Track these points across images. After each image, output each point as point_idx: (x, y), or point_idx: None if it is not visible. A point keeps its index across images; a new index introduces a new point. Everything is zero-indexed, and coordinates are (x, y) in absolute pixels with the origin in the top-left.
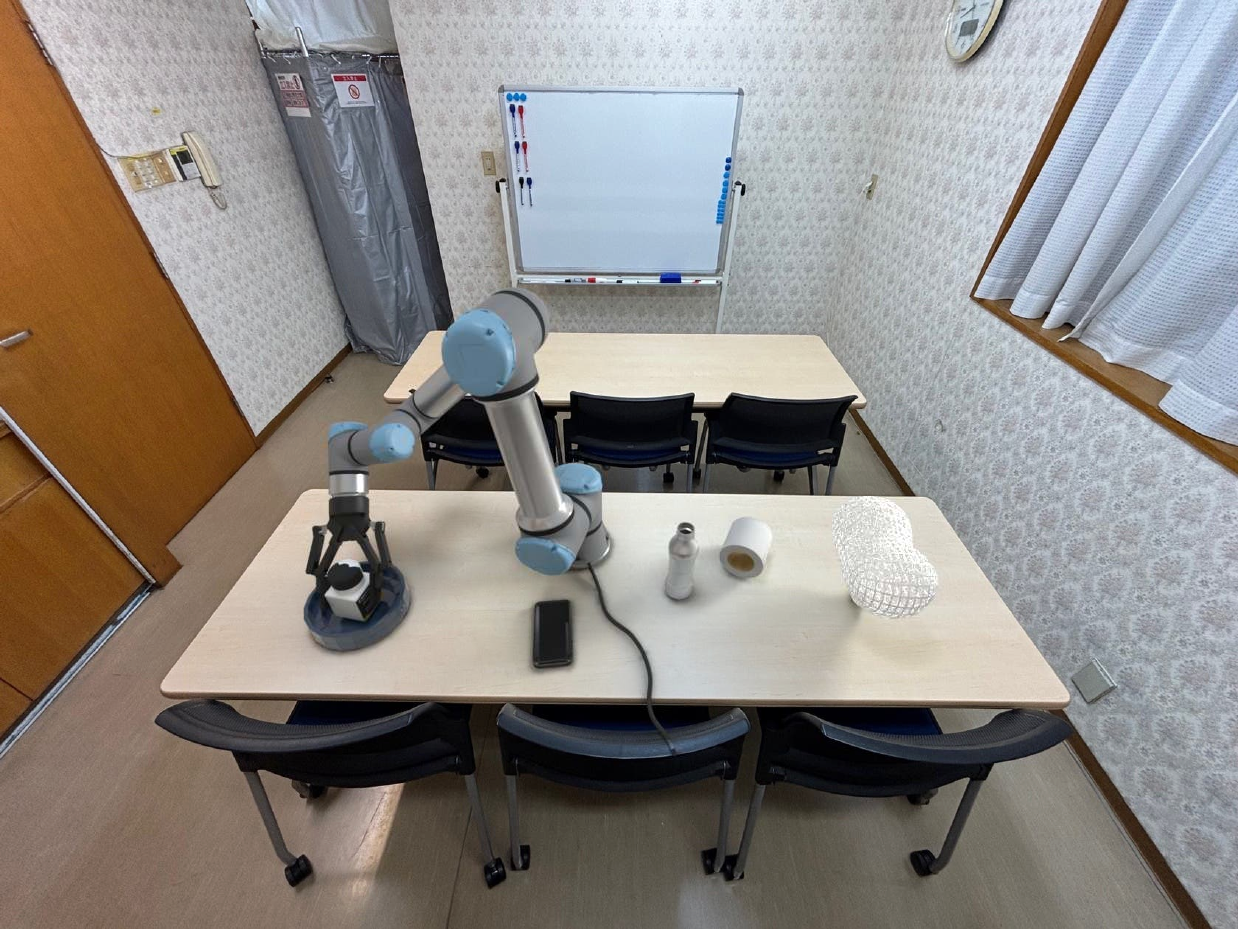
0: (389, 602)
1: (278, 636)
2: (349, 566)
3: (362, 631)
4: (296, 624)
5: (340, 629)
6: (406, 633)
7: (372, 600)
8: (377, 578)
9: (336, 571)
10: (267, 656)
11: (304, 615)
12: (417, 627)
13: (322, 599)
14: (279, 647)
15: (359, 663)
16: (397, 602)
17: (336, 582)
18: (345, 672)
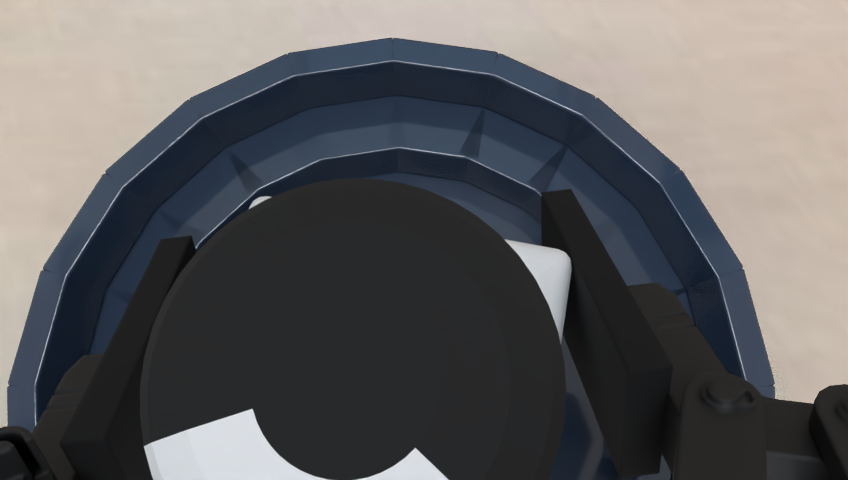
0: None
1: (821, 198)
2: (253, 419)
3: (221, 85)
4: (767, 280)
5: None
6: None
7: (156, 261)
8: (66, 424)
9: (406, 313)
10: (797, 79)
11: (695, 201)
12: (22, 273)
13: (577, 232)
14: (767, 131)
15: (284, 52)
16: (36, 329)
17: (363, 181)
18: (337, 6)
